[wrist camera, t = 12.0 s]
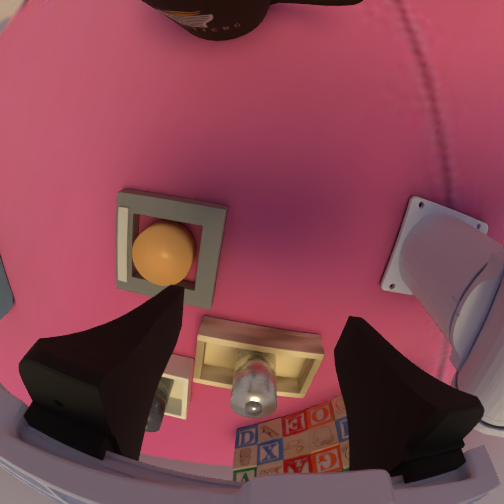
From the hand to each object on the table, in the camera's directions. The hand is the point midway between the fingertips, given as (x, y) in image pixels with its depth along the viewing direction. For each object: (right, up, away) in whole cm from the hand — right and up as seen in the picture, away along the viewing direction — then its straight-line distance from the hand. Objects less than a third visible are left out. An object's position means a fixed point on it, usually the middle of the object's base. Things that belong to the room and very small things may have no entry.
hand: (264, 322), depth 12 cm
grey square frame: (-7, +3, +10) cm, 12 cm away
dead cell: (-10, -10, +15) cm, 20 cm away
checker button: (-7, +3, +10) cm, 12 cm away
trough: (0, -6, +13) cm, 15 cm away
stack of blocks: (+8, -16, +18) cm, 25 cm away
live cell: (0, -6, +13) cm, 14 cm away
